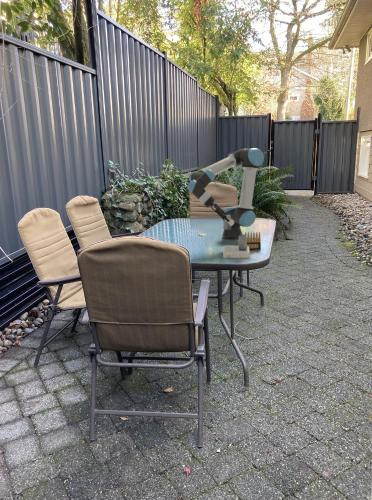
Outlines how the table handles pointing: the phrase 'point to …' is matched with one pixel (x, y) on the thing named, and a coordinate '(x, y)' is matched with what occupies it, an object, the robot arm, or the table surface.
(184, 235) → the table surface
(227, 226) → the ball
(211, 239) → the table surface
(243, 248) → the cylinder
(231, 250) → the scale
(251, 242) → the ammunition clip
